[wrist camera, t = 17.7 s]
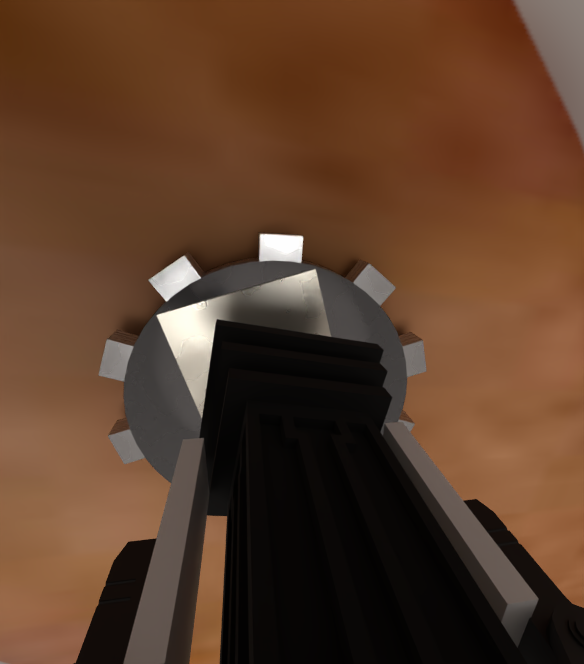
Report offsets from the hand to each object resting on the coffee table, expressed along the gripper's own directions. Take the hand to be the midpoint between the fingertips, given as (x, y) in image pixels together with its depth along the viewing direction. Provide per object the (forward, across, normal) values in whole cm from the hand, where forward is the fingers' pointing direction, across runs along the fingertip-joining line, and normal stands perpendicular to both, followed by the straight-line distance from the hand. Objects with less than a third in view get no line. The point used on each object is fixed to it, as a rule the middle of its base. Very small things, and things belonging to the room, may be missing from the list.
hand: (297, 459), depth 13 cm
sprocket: (+12, 0, -3) cm, 12 cm away
